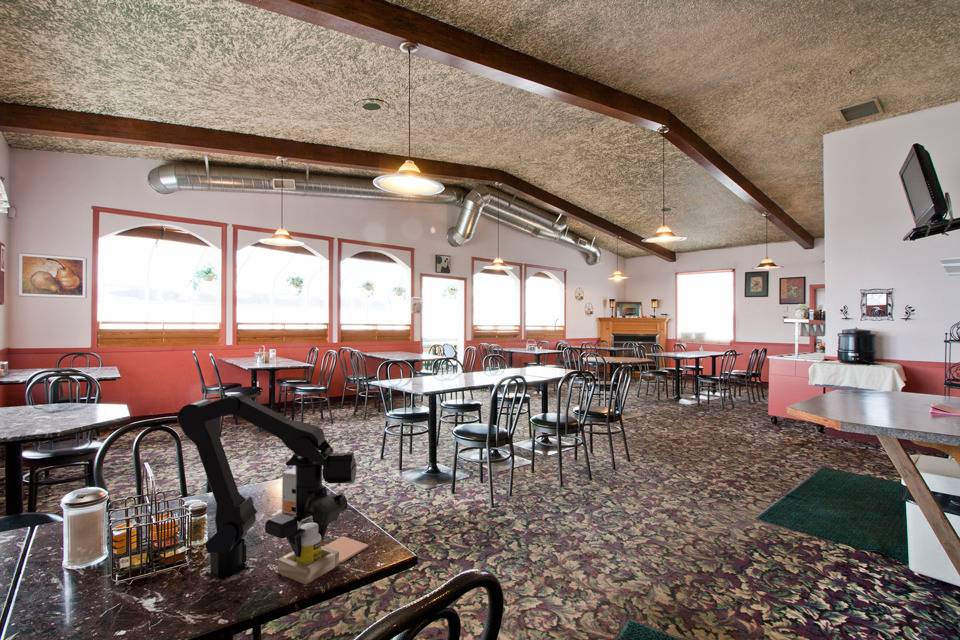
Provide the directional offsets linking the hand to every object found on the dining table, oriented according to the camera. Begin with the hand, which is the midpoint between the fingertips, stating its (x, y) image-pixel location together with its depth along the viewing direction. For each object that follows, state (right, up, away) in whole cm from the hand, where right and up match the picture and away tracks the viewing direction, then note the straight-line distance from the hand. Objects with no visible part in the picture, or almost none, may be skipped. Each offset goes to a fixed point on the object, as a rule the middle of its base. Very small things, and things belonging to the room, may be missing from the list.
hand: (308, 551), depth 107 cm
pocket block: (0, -4, 0) cm, 4 cm away
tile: (+5, -4, +9) cm, 11 cm away
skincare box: (-15, -4, +31) cm, 35 cm away
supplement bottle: (0, -4, 0) cm, 4 cm away
